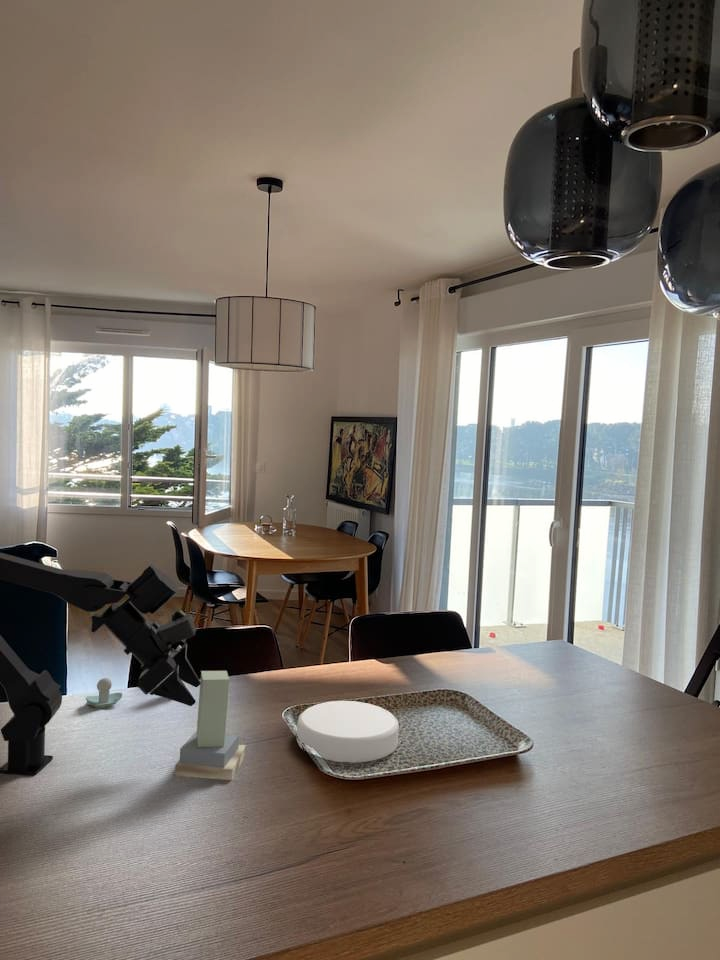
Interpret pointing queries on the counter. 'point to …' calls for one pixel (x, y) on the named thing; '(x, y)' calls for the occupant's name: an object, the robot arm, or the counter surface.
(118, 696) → the pacifier
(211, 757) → the tower middle
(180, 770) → the tower base
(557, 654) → the counter surface
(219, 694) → the pillar block
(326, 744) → the container
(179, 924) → the counter surface
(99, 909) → the counter surface
